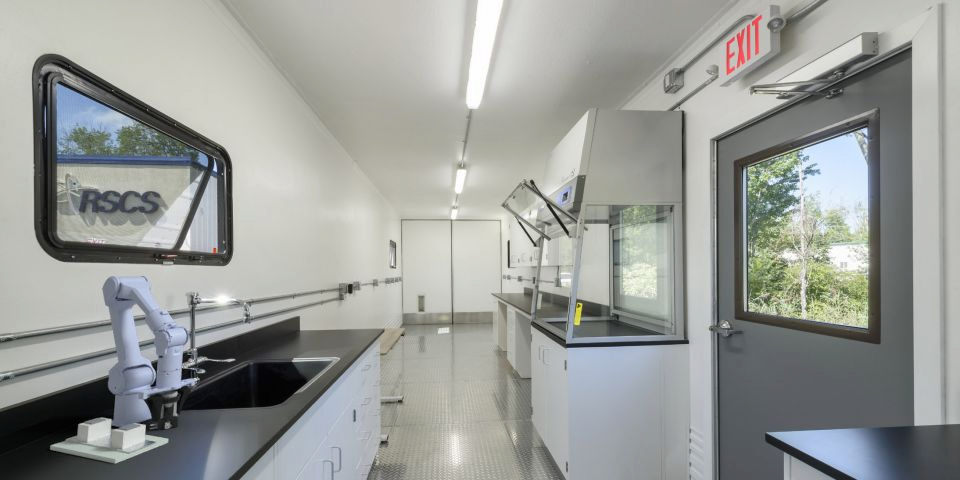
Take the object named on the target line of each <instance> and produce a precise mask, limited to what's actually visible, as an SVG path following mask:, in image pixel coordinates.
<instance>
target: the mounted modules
mask: <svg viewBox="0 0 960 480" xmlns="http://www.w3.org/2000/svg"><path fill="white" fill-rule="evenodd" d="M111 421H112V418H106V417H96V418H93V419H88V420H85V421H84V422H82V423H81V422H80V423H79V424H77V425H78V426H77V435H76V436H77V440H79V441H84V442H89V441H92V440H95V439H98V438H101V437H104V436H107V435H110V432H111V429H112V425H111ZM146 427H147V426H146V424H144V423H143V424H141V423H134V424H129V425H126V426H123V427H118V428H114V429H115V430H113V432H112V445H111V447H114V448H119V449H124V448H127V447H129V446H132V445H135V444H138V443H140V442H143V441H145V435H146Z"/></svg>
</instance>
